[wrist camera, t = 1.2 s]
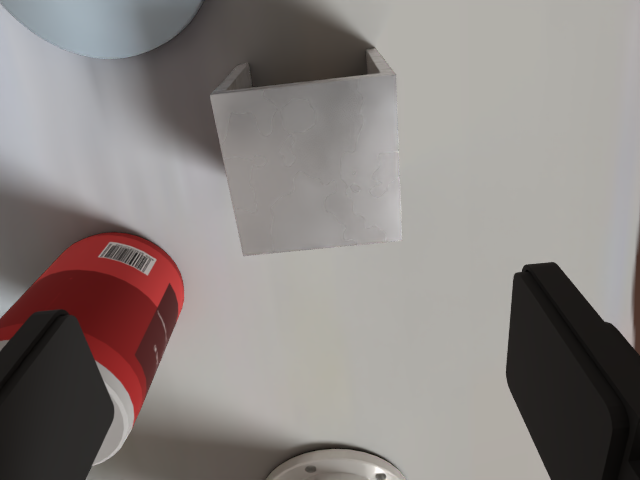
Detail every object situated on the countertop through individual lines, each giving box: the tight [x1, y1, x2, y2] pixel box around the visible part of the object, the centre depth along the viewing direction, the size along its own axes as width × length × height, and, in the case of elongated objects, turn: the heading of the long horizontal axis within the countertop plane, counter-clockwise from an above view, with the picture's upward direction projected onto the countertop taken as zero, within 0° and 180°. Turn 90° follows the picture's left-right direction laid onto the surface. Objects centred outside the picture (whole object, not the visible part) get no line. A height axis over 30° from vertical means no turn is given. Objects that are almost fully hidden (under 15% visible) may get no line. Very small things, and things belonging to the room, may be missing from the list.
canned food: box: [0, 232, 184, 466], centre depth 27 cm, size 8×8×11 cm
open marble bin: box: [210, 48, 402, 256], centre depth 23 cm, size 7×7×8 cm
